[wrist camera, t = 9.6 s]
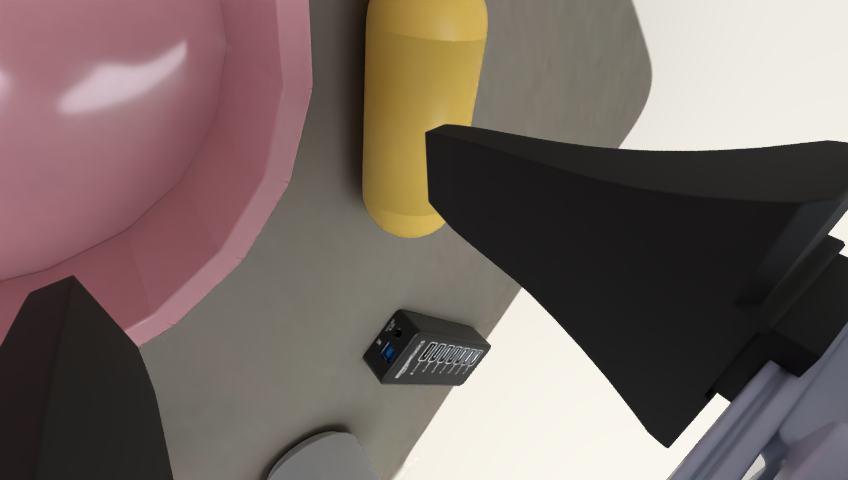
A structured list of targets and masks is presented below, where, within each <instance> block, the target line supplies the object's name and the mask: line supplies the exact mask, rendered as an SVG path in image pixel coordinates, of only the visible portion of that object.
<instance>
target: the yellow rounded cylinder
mask: <svg viewBox="0 0 848 480" xmlns="http://www.w3.org/2000/svg"><path fill="white" fill-rule="evenodd" d="M487 29H488V17H487V8H486V4H485V1H484V0H370V1H369V5H368V10H367V19H366V50H365V93H364V135H363V178H362V191H363V200H364V203H365V206H366V209H367V211H368V213H369V214H370V216H371V218H372V219H373V220H374V221H375V222H376V223H377V224H378V225H379V226H380V227H381V228H382V229H384V230H385V231H387V232H389V233H391V234H394V235H396V236H400V237H405V238H415V237H421V236H425V235H428V234H431V233H432V232H434V231H436V230H437V229H439V228H440V227H442V226H443V224H444V223H445V222H446V221H445V220H444V219H443V218H442V217H441V216H440V215H439V214H438V213H437V211H436V210H435V209H434V208H433V207H432V206H431V204H430V203H429V202H428V186H427V166H426V145H425V132H426V131H429V130H431V129H434V128H436V127H439V126H441V125H444V124H454V125H463V126H470V127H471V122H472V117H473V111H474V105H475V100H476V94H477V89H478V83H479V77H480V72H481V66H482V60H483V55H484V49H485V44H486V38H487Z"/></svg>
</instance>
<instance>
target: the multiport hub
mask: <svg viewBox="0 0 848 480" xmlns="http://www.w3.org/2000/svg"><path fill="white" fill-rule="evenodd" d="M490 348H491V345H490V344H489V343H488V342H487V341H486V340H485V339H484V338H483V337H482V336H481V335H480V334H479V333H478V332H477V331H476V330H475V329H474V328H472V327H468V326H464V325H460V324H456V323H452V322H448V321H444V320H440V319H436V318H432V317H429V316H425V315H421V314H417V313H413V312H409V311H405V310H399V311H397V312H396V313H395V314H394V316H393V317H392V318H391V320H390V321H389V323H388V324H387V325H386V327H385V328H384V329H383V331H382V332H381V333H380V335H379V336H378V338H377V339H376V340H375V342H374V343H373V344H372V346H371V347H370V349H369V350H368V351H367V353H366V354H365V355H364V361H365V362H366V364H367V365H368V366H369V368H370V369H371V370H372V372H373V373H374V375H375V376H376V377H377V379H378V380H379V381H380V383H381V384H385V385H442V386H460V385H462V384H463V383H464V382H465V381H466V380H467V378H468V377H469V376H470V374H471V373H472V372H473V371H474V369H475V368H476V367H477V365H478V364H479V363H480V362H481V360H482V359H483V358H484V356H485V355H486V354H487V352H488V351H489V350H490Z"/></svg>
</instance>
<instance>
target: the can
mask: <svg viewBox="0 0 848 480" xmlns="http://www.w3.org/2000/svg"><path fill="white" fill-rule="evenodd" d="M267 480H381V478H380V477H379V475H378V473H377V472H376V470H375V468H374V467H373V465H372V463H371V462H370V460H369V459H368V457H367V455H366V454H365V452H364V450H363V449H362V447H361V445H360V444H359V442H358V441H357V439H356V437H355V436H354V435H352V434H349V433H338V432H335V431H330V432H323V433H320V434H317V435H314V436H312V437H310V438H308V439H306V440H304V441H303V442H301V443H299V444H298V445H297V446H295V447H294V448H292V449H291V450H290V451H288V452H287V453H286V454H285V455H284V456H283V457H282V458H281V459H280V460H279V461H278V462H277V463H276V465H275V466H274V467H273V469H272V470H271V471H270V474H269V476H268V479H267Z"/></svg>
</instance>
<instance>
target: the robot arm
mask: <svg viewBox="0 0 848 480" xmlns="http://www.w3.org/2000/svg"><path fill="white" fill-rule="evenodd" d="M425 145H426V166H427V186H428V202H429V203H430V204H431V206H432V207H433V208H434V209H435V210H436V211H437V213H438V214H439V215H440V216H441V217H442V218H443V219H444V220H445V221H446V222H447V224H448V225H449V226H450V227H451V228H452V229H453V230H454V231H456V232H457V233H458V234H459V235H460V236H461V237H463V238H464V239H465V240H466V241H467V242H469V243H470V244H471V245H472V246H473V247H475V248H476V249H477V250H478V251H479V252H481V253H482V254H483V255H484V256H486V257H487V258H488V259H489V260H490V261H492V262H493V263H494V264H495V265H497V266H498V267H499V268H500V269H502V270H503V271H504V272H505V273H506V274H508V275H509V276H510V277H511V278H513V279H514V280H515V281H516V282H517V283H518V284H520V285H521V286H522V287H523V288H524V289H525V290H526V291H527V292H529V293H530V294H531V295H532V296H533V297H534V298H535V299H536V300H537V302H539V304H540V305H541V306H543V308H544V309H545V310H547V312H548V313H549V314H550V315H551V316H552V317H553V318H554V319H555V320H556V321H557V322H558V323H559V324H560V325H561V326H562V327H563V329H564V330H565V331H566V332H567V333H568V334H569V335H570V336H571V337H572V338H573V340H575V342H576V343H577V344H578V345H579V346H580V347H581V348H582V350H583V351H584V352H585V353H586V354H587V355H588V357H589V358H590V359H591V360H592V361H593V362H594V364H595V365H596V366H597V367H598V368H599V370H601V372H602V373H603V374H604V375H605V377H606V378H607V379H608V380H609V382H610V383H611V384H612V385H613V387H614V388H615V389H616V390H617V392H618V393H619V394H620V396H621V397H622V398H623V400H624V401H625V402H626V403H627V405H628V406H629V407H630V409H631V410H632V411H633V412H634V414H635V415H636V416H637V418H638V419H639V420H640V422H641V423H642V425H643V426H644V427H645V429H646V430H647V432H648V433H649V434H650V435H652V436H653V437H654V438H655V439H656V440H657V441H659V442H660V443H661V444H662V445H663V446H665V447H666V448H669V447H670V446H671V445H672V444H673V443H674V441H675V440H676V439H677V438H678V437H679V436H680V435H681V433H682V432H683V431H684V430H685V429H686V427H688V425H689V424H690V423H691V422H692V421H693V420H694V418H696V416H697V415H698V414H699V413H700V412H701V411H702V410H703V408H704V407H705V406H706V405H707V404H708V403H709V402H710V400H711V399H712V398H713V397H714V396H715V395H716V393H718V394H720V395H721V396H723V397H724V398H725V399H727V400H728V401H730V402H731V403H730V405H729V406H728V407H727V408H726V409H725V411H724V412H723V413H722V414H721V415H720V417H719V418H718V419H717V420H716V422H715V423H714V424H713V425H712V426H711V427H710V429H709V430H708V431H707V432H706V434H705V435H704V436H703V437H702V438H701V439H700V440H699V442H698V443H697V444H696V445H695V446H694V448H693V449H692V450H691V451H690V452H689V454H688V455H687V456H686V457H685V458H684V460H683V461H682V462H681V463H680V464H679V465H678V467H677V468H676V469H675V470H674V471H673V473H672V474H671V475H670V476H669V477H668V479H667V480H741V479H742V478H743V477H744V475H745V474H746V473H747V471H748V470H749V468H750V467H751V466H752V464H753V463H754V462H755V460H756V459H757V457H758V456H759V455H760V454H761V455H762V457H763V458H764V460H765V466H764V467H763V468H762V469H761V470H760V471H758V472H757V473H756V474H755V475H754V476H752V477H751V478H750V479H749V480H848V257H846V256H843V255H841V254H839V252H840V251H841V250H842V249H843V248H844V246H845V244H844V242H843V241H841V240H839V239H837V238H834V237H832V236H830V235H828V233H829V232H830V231H831V230H832V228H833V227H834V226H835V225H836V224H837V222H838V221H839V220H840V219H841V217H842V216H843V215H844V214H845V212H846V211H847V210H848V143H847V142H838V141H828V140H827V141H818V142H808V143H800V144H790V145H781V146H773V147H762V148H748V149H731V150H709V151H648V150H628V149H615V148H602V147H592V146H584V145H577V144H569V143H562V142H555V141H549V140H543V139H537V138H531V137H526V136H520V135H515V134H509V133H504V132H499V131H493V130H488V129H482V128H476V127H470V126H463V125H454V124H444V125H441V126H439V127H436V128H434V129H431V130H429V131H426V132H425ZM0 480H173V475H172V470H171V466H170V461H169V456H168V451H167V446H166V442H165V437H164V432H163V427H162V423H161V418H160V413H159V409H158V404H157V400H156V395H155V391H154V388H153V386H152V383H151V380H150V378H149V375H148V372H147V370H146V367H145V364H144V362H143V359H142V357H141V354H140V352H139V349H138V347H137V345H136V344H135V343H134V342H133V341H132V340H131V338H130V337H129V336H128V335H127V334H126V333H125V332H124V331H123V330H122V328H121V327H120V326H119V325H118V324H117V323H116V322H115V321H114V320H113V318H112V317H111V316H110V315H109V314H108V313H107V312H106V311H105V309H104V308H103V307H102V306H101V305H100V304H99V303H98V302H97V301H96V299H95V298H94V297H93V296H92V295H91V294H90V293H89V292H88V291H87V289H86V288H85V287H84V286H83V285H82V284H81V283H80V282H79V281H78V279H77V278H76V277H75V276H74V275H71V276H69V277H67V278H64V279H62V280H59V281H57V282H54V283H52V284H49V285H47V286H44V287H42V288H39V289H37V290H34V291H32V292H30V293H29V294H28V296H27V297H26V299H25V301H24V302H23V304H22V306H21V308H20V310H19V312H18V313H17V315H16V317H15V319H14V321H13V323H12V325H11V327H10V329H9V331H8V333H7V335H6V336H5V338H4V340H3V342H2V344H1V346H0Z"/></svg>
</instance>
